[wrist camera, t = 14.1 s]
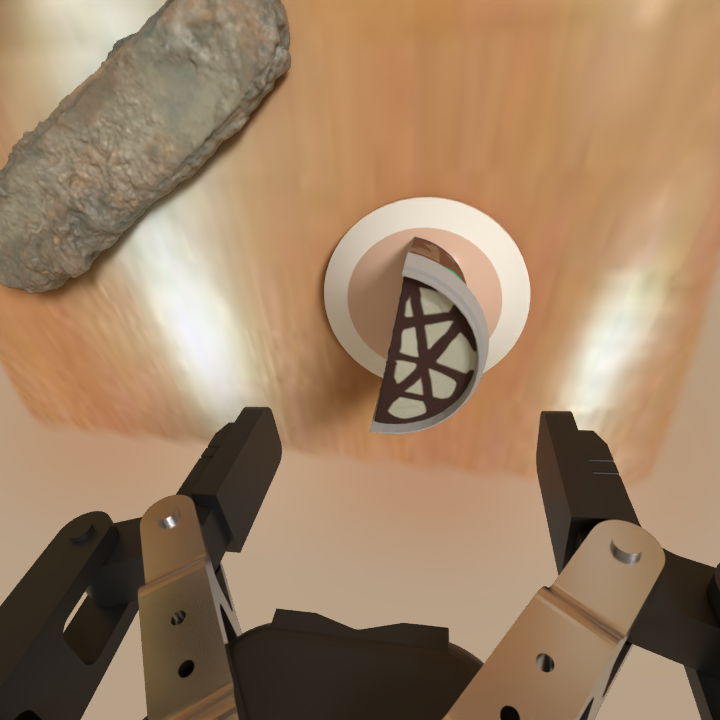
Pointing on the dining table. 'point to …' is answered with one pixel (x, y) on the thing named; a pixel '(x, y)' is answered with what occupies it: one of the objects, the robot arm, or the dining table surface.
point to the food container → (431, 345)
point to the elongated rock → (134, 133)
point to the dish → (384, 276)
